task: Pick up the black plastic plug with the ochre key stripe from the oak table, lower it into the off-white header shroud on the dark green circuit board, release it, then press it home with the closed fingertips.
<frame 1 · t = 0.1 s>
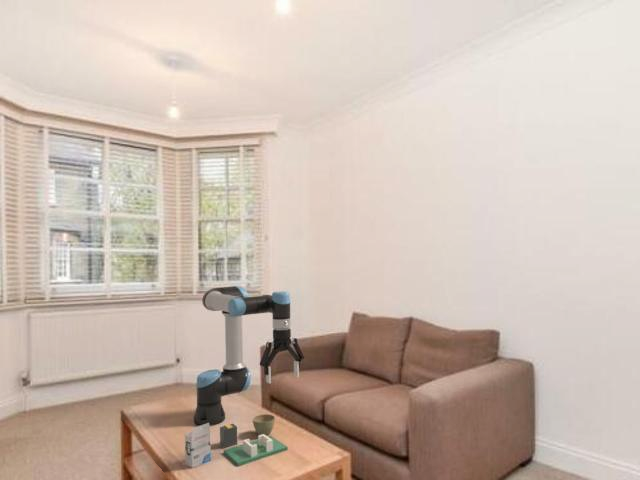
hand: (282, 379, 180), 28 cm above the table, fingers open, 13 cm apart
plug: (228, 444, 183), on the table
flower pot: (264, 434, 193), on the table
ink box: (198, 462, 168), on the table
board: (255, 451, 176), on the table
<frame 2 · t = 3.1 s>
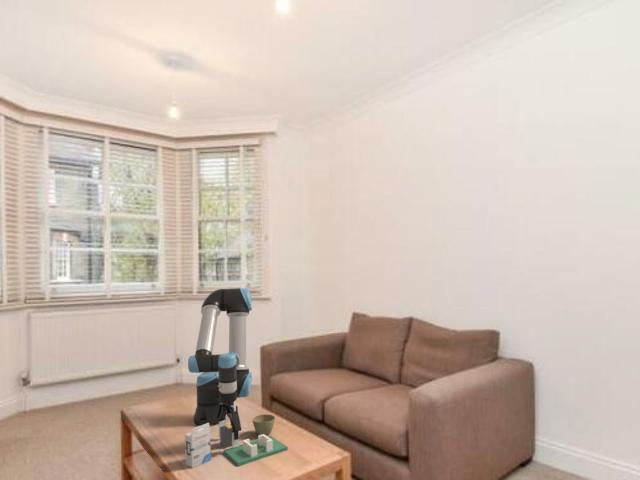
hand: (228, 441, 183), 1 cm above the table, fingers open, 13 cm apart
nothing on the table moved.
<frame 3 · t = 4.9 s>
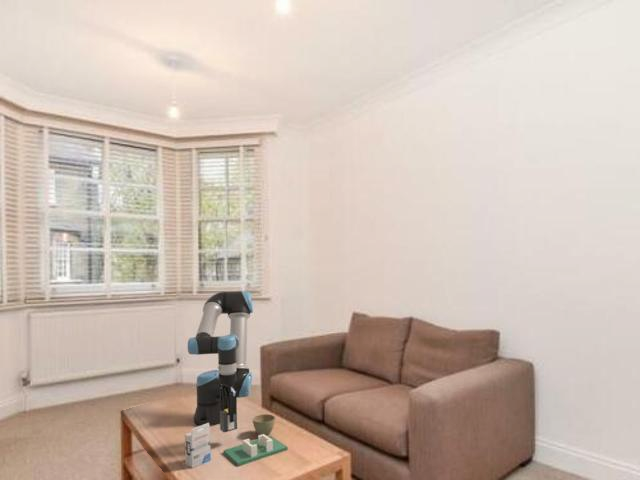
hand: (228, 427, 184), 7 cm above the table, fingers closed on plug, 4 cm apart
plug: (228, 429, 184), point 6 cm above the table, touching gripper
everything else where it was.
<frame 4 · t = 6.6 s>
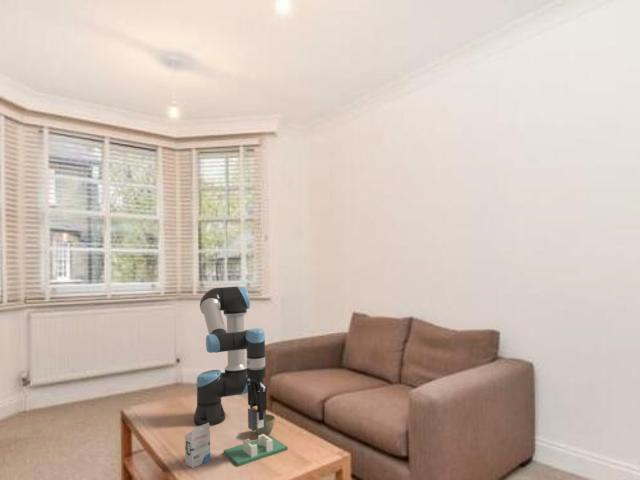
hand: (257, 425, 174), 11 cm above the table, fingers closed on plug, 4 cm apart
plug: (257, 427, 174), point 10 cm above the table, touching gripper
everything else where it was.
when the fingers open (2 cm above the table, at t = 8.3 s): plug stays where it is, resting on board.
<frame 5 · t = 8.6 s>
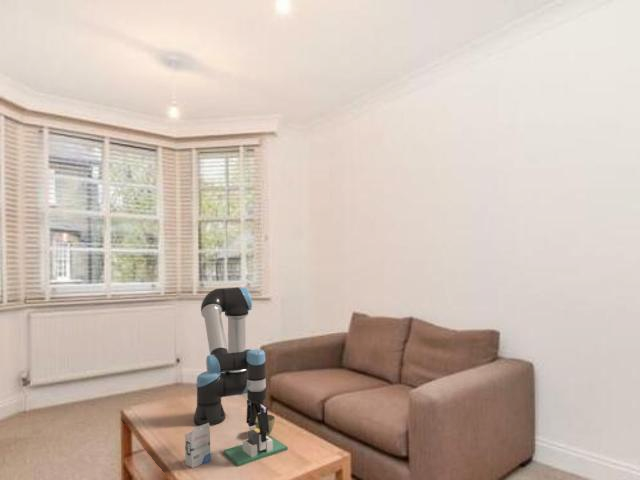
hand: (257, 445, 174), 3 cm above the table, fingers open, 8 cm apart
plug: (257, 450, 174), point 1 cm above the table, touching board
everything else where it was.
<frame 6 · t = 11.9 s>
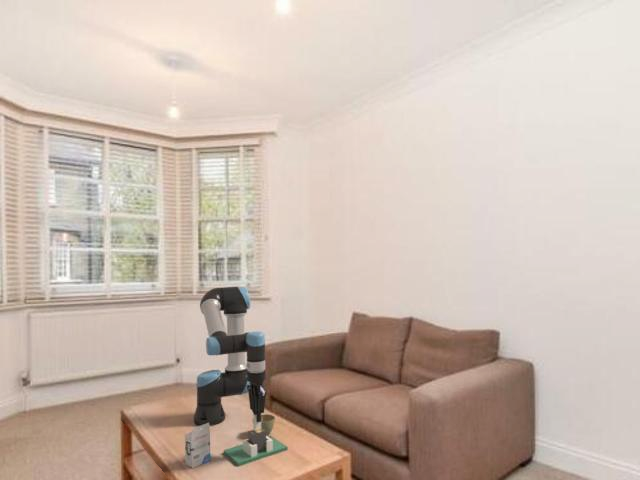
hand: (257, 429, 175), 10 cm above the table, fingers closed
nothing on the table moved.
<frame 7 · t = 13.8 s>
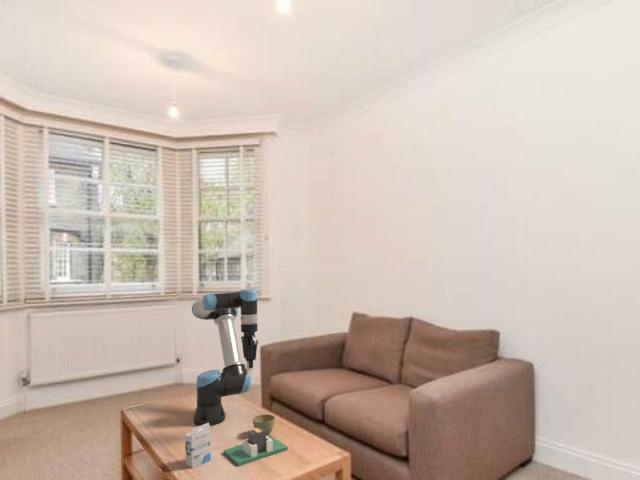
hand: (249, 374, 197), 26 cm above the table, fingers closed
nothing on the table moved.
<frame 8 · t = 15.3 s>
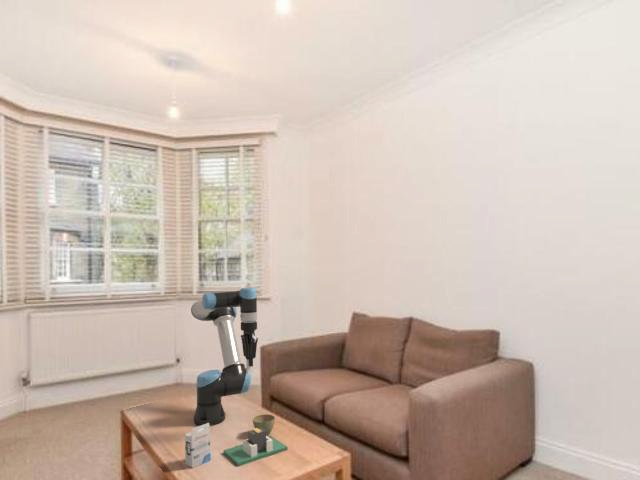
hand: (249, 372, 198), 26 cm above the table, fingers closed
nothing on the table moved.
at the end: plug 0.2 cm from the target spot on the board, point 1.3 cm above the board's base; plug tilted 0°; the gripper is holding nothing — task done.
